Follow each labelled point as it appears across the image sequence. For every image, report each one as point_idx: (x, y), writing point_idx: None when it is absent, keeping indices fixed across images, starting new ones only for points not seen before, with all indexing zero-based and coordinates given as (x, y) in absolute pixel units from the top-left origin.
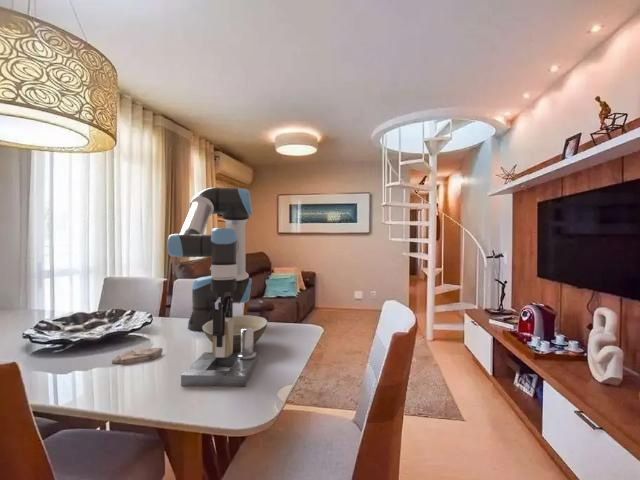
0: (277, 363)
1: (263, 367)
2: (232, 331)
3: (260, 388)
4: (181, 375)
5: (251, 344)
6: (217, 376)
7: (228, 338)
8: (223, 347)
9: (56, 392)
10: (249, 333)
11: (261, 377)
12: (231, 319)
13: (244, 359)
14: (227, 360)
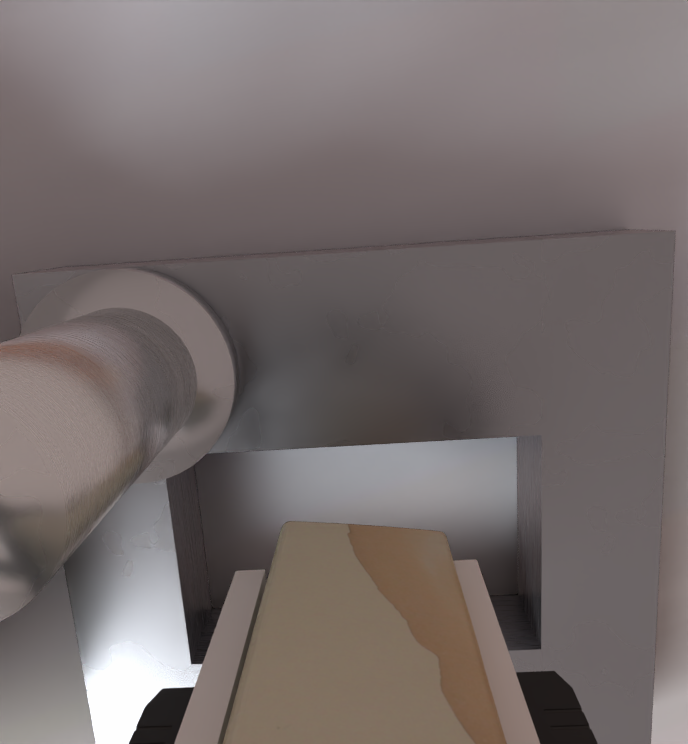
0: (51, 37)
1: (183, 170)
2: (289, 722)
3: (660, 70)
4: None
5: (103, 340)
6: (660, 497)
7: (466, 677)
8: (503, 645)
9: None
10: (54, 413)
11: (423, 126)
12: None
13: (238, 371)
14: (187, 550)
